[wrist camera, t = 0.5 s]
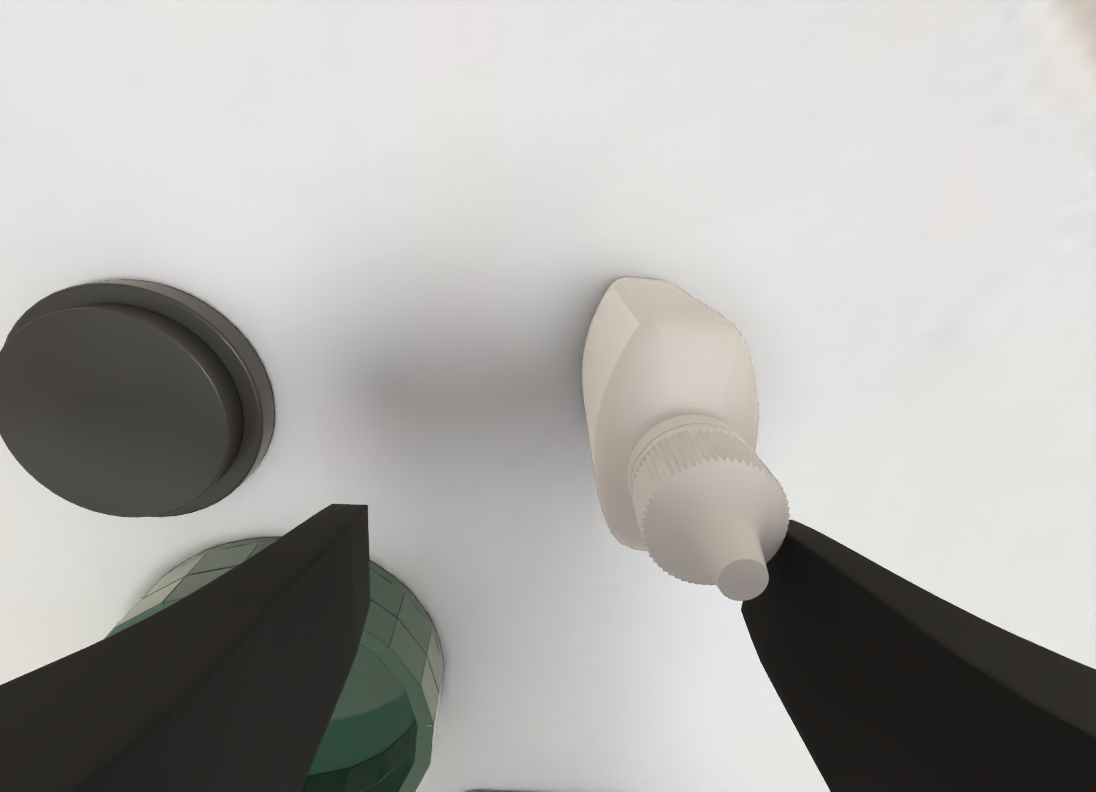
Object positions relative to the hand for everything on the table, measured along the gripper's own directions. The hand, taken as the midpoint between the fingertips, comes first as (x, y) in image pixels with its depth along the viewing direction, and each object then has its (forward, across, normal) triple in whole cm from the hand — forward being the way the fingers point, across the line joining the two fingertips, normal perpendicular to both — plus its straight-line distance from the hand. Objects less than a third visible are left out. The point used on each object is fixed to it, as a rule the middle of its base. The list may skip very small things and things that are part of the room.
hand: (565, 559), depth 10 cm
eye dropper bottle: (+10, -3, -2) cm, 10 cm away
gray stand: (+10, +13, +1) cm, 16 cm away
